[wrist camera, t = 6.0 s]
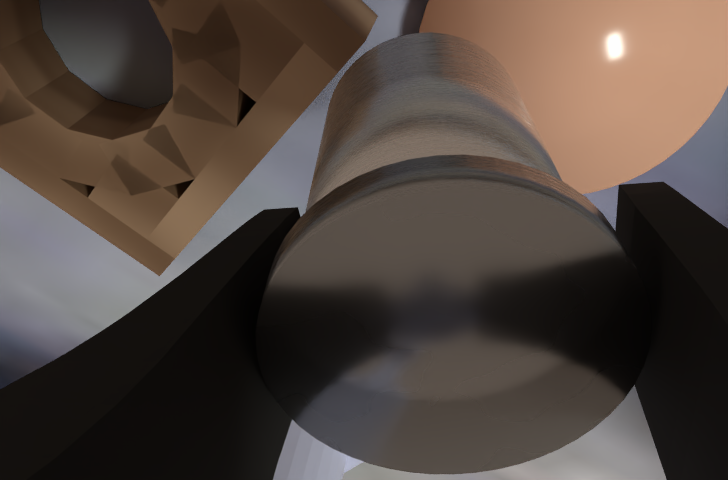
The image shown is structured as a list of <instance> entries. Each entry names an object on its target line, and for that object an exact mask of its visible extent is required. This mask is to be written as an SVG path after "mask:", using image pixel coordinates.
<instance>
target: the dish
mask: <svg viewBox="0 0 728 480" xmlns="http://www.w3.org/2000/svg"><path fill="white" fill-rule="evenodd" d="M428 32H433V33H443V34H449V35H453V36H457V37H461V38H463V39H466V40H468V41H471V42H473V43H475V44H476V45H478V46H480V47H482V48H483V49H485V50H486V51H487V52H489V53H490V54H491V55H493V56H494V57H495V58H496V59H497V60H498V61H499V62H500V63H501V64H502V65H503V67H504V68H505V69H506V71H507V72H508V74H509V75H510V76H511V78H512V80H513V82H514V84H515V86H516V88H517V90H518V92H519V94H520V96H521V98H522V100H523V102H524V104H525V106H526V108H527V110H528V113H529V115H530V117H531V119H532V121H533V123H534V125H535V127H536V129H537V131H538V133H539V135H540V137H541V139H542V141H543V143H544V145H545V147H546V149H547V151H548V153H549V155H550V157H551V159H552V161H553V163H554V165H555V167H556V169H557V171H558V173H559V175H560V177H561V179H562V181H563V182H565V183H567V184H568V185H570V186H571V187H572V188H574V189H575V190H577V191H578V192H579V193H581V194H585V193H591V192H595V191H599V190H603V189H607V188H610V187H613V186H616V185H618V184H621V183H624V182H626V181H629V180H631V179H633V178H635V177H637V176H639V175H641V174H643V173H645V172H647V171H648V170H650V169H652V168H653V167H655V166H656V165H658V164H660V163H661V162H663V161H664V160H666V159H667V158H668V157H669V156H671V155H672V154H673V153H675V152H676V151H677V150H678V149H680V148H681V147H682V146H683V145H684V144H685V143H686V142H687V141H688V140H689V139H690V138H691V137H692V136H693V135H694V134H695V133H696V132H697V131H698V130H699V128H700V127H701V126H702V125H703V124H704V122H705V121H706V120H707V119H708V118H709V116H710V115H711V113H712V112H713V110H714V109H715V107H716V106H717V104H718V103H719V101H720V99H721V97H722V95H723V93H724V91H725V89H726V87H727V86H728V0H428V3H427V6H426V9H425V12H424V15H423V19H422V22H421V26H420V30H419V33H428Z"/></svg>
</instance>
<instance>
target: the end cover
mask: <svg viewBox="0 0 728 480" xmlns="http://www.w3.org/2000/svg"><path fill="white" fill-rule="evenodd" d="M651 335H652V313H651V306H650V302H649V298H648V294H647V290H646V288H645V286H644V283H643V281H642V279H641V277H640V275H639V273H638V271H637V269H636V267H635V265H634V264H633V262H632V260H631V258H630V256H629V255H628V253H627V251H626V249H625V248H624V246H623V244H622V242H621V241H620V239H619V237H618V235H617V233H616V232H615V230H614V229H613V227H612V226H611V225H610V223H609V222H608V220H607V219H606V218H605V216H604V215H603V214H602V213H601V212H600V211H599V210H598V209H597V208H596V207H595V206H594V205H593V204H592V203H591V202H590V201H589V200H588V199H587V198H586V197H585V196H583V195H582V194H581V193H579V192H578V191H577V190H575V189H574V188H572V187H571V186H570V185H568V184H567V183H565V182H563V181H562V179H561V177H560V175H559V173H558V171H557V169H556V167H555V165H554V163H553V161H552V159H551V157H550V155H549V153H548V151H547V149H546V147H545V145H544V143H543V141H542V139H541V137H540V135H539V133H538V131H537V129H536V127H535V125H534V123H533V121H532V119H531V117H530V115H529V113H528V110H527V108H526V106H525V104H524V102H523V100H522V98H521V96H520V94H519V92H518V90H517V88H516V86H515V84H514V82H513V80H512V78H511V76H510V75H509V74H508V72H507V71H506V69H505V68H504V67H503V65H502V64H501V63H500V62H499V61H498V60H497V59H496V58H495V57H494V56H493V55H491V54H490V53H489V52H487V51H486V50H485V49H483V48H482V47H480V46H478V45H476V44H475V43H473V42H471V41H468V40H466V39H463V38H461V37H457V36H453V35H449V34H443V33H433V32H428V33H414V34H408V35H403V36H400V37H396V38H393V39H390V40H388V41H386V42H383V43H381V44H379V45H377V46H376V47H374V48H372V49H371V50H369V51H368V52H366V53H365V54H364V55H362V56H361V57H360V58H359V59H358V60H356V61H355V62H354V63H353V64H352V66H351V67H350V68H349V69H348V70H347V71H346V72H345V74H344V75H343V77H342V78H341V80H340V81H339V83H338V85H337V87H336V89H335V91H334V93H333V95H332V98H331V101H330V104H329V108H328V113H327V117H326V122H325V126H324V131H323V135H322V140H321V144H320V149H319V153H318V158H317V163H316V167H315V172H314V176H313V181H312V185H311V190H310V194H309V199H308V204H307V208H306V213H305V214H304V215H303V216H301V217H300V218H299V219H298V221H297V222H296V223H295V225H294V226H293V227H292V229H291V230H290V231H289V233H288V234H287V235H286V236H285V238H284V240H283V242H282V244H281V246H280V247H279V249H278V251H277V253H276V255H275V258H274V261H273V264H272V267H271V269H270V272H269V276H268V280H267V283H266V287H265V291H264V294H263V298H262V302H261V305H260V309H259V313H258V319H257V325H256V353H257V357H258V362H259V367H260V370H261V373H262V375H263V378H264V380H265V383H266V385H267V387H268V388H269V390H270V392H271V394H272V395H273V397H274V399H275V400H276V402H277V403H278V404H279V405H280V407H281V408H282V409H283V410H284V412H285V413H286V414H287V415H288V416H289V417H290V418H291V419H292V420H293V421H294V422H295V423H296V424H297V425H298V426H299V427H301V428H302V429H303V430H305V431H306V432H307V433H309V434H310V435H311V436H313V437H314V438H315V439H317V440H319V441H320V442H322V443H324V444H325V445H327V446H329V447H331V448H332V449H334V450H337V451H339V452H341V453H343V454H345V455H347V456H350V457H352V458H355V459H358V460H361V461H364V462H366V463H369V464H373V465H377V466H381V467H385V468H389V469H394V470H400V471H406V472H413V473H425V474H463V473H476V472H483V471H489V470H496V469H500V468H505V467H509V466H513V465H517V464H520V463H524V462H527V461H530V460H533V459H536V458H539V457H541V456H544V455H546V454H548V453H551V452H553V451H555V450H558V449H560V448H562V447H563V446H565V445H567V444H569V443H571V442H573V441H575V440H576V439H578V438H579V437H581V436H582V435H584V434H585V433H587V432H588V431H590V430H591V429H593V428H594V427H595V426H597V425H598V424H599V423H600V422H601V421H603V420H604V419H605V418H606V417H607V416H609V415H610V414H611V413H612V412H613V411H614V409H615V408H616V407H617V406H618V405H619V404H620V403H621V402H622V401H623V400H624V398H625V397H626V396H627V394H628V393H629V391H630V390H631V389H632V387H633V386H634V384H635V383H636V381H637V379H638V377H639V375H640V373H641V371H642V369H643V367H644V365H645V361H646V358H647V355H648V352H649V349H650V343H651Z"/></svg>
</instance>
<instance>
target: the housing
mask: <svg viewBox="0 0 728 480" xmlns="http://www.w3.org/2000/svg"><path fill="white" fill-rule="evenodd" d="M149 2H150V4H151V6H152V8H153V10H154V12H155V14H156V16H157V18H158V20H159V22H160V24H161V26H162V28H163V30H164V32H165V33H166V35H167V37H168V39H169V41H170V43H171V45H172V47H173V97H172V98H171V100H170V101H169V102H168V103H165V104H162V105H159V106H155V107H152V108H149V109H144V108H140V107H136V106H132V105H128V104H123V103H119V102H115V101H111V100H107V99H105V98H104V97H103V96H101V95H100V94H99V93H97V92H96V91H95V90H93V89H92V88H91V87H89V86H88V85H87V84H85V83H84V82H83V81H81V80H80V79H79V78H77V77H76V76H75V75H74V74H72V73H71V72H70V71H68V69H67V67H66V66H65V64H64V62H63V61H62V59H61V58H60V56H59V54H58V53H57V51H56V50H55V48H54V46H53V45H52V43H51V41H50V40H49V38H48V37H47V35H46V33H45V32H44V30H43V27H42V20H41V13H40V6H39V0H0V167H1V168H2V169H4V170H5V171H6V172H8V173H9V174H11V175H12V176H14V177H15V178H17V179H18V180H20V181H21V182H23V183H24V184H25V185H27V186H28V187H30V188H31V189H33V190H34V191H36V192H37V193H39V194H40V195H42V196H43V197H45V198H46V199H47V200H49V201H50V202H52V203H53V204H55V205H56V206H58V207H59V208H61V209H62V210H64V211H65V212H66V213H68V214H69V215H71V216H72V217H74V218H75V219H77V220H78V221H80V222H81V223H83V224H84V225H85V226H87V227H88V228H90V229H91V230H93V231H94V232H96V233H97V234H99V235H100V236H102V237H103V238H105V239H106V240H107V241H109V242H110V243H112V244H113V245H115V246H116V247H118V248H119V249H121V250H122V251H124V252H125V253H126V254H128V255H129V256H131V257H132V258H134V259H135V260H137V261H138V262H140V263H141V264H143V265H144V266H146V267H147V268H148V269H150V270H151V271H153V272H154V273H156V274H157V275H159V276H160V275H161V274H162V273H163V272H164V271H165V269H166V268H167V267H168V266H169V265H170V264H171V263H172V261H173V260H174V259H175V258H176V257H177V256H178V255H179V253H180V252H181V251H182V250H183V249H184V248H185V247H186V245H187V244H188V243H189V242H190V241H191V240H192V239H193V237H194V236H195V235H196V234H197V233H198V232H199V231H200V229H201V228H202V227H203V226H204V225H205V224H206V223H207V221H208V220H209V219H210V218H211V217H212V216H213V215H214V213H215V212H216V211H217V210H218V209H219V208H220V207H221V205H222V204H223V203H224V202H225V201H226V200H227V199H228V197H229V196H230V195H231V194H232V193H233V192H234V191H235V189H236V188H237V187H238V186H239V185H240V184H241V183H242V181H243V180H244V179H245V178H246V177H247V176H248V175H249V173H250V172H251V171H252V170H253V169H254V168H255V167H256V165H257V164H258V163H259V162H260V161H261V160H262V159H263V157H264V156H265V155H266V154H267V153H268V152H269V151H270V149H271V148H272V147H273V146H274V145H275V144H276V143H277V141H278V140H279V139H280V138H281V137H282V136H283V135H284V133H285V132H286V131H287V130H288V129H289V128H290V127H291V125H292V124H293V123H294V122H295V121H296V120H297V119H298V117H299V116H300V115H301V114H302V113H303V112H304V111H305V109H306V108H307V107H308V106H309V105H310V104H311V103H312V101H313V100H314V99H315V98H316V97H317V96H318V95H319V93H320V92H321V91H322V90H323V89H324V88H325V87H326V85H327V84H328V83H329V82H330V81H331V80H332V79H333V77H334V76H335V75H336V74H337V73H338V72H339V71H340V69H341V68H342V67H343V66H344V65H345V64H346V63H347V61H348V60H349V59H350V58H351V57H352V56H353V55H354V53H355V52H356V51H357V50H358V49H359V48H360V47H361V45H362V44H363V43H364V42H365V41H366V39H367V37H368V35H369V33H370V31H371V29H372V27H373V25H374V23H375V21H376V19H377V17H378V16H377V15H376V14H375V13H374V12H373V11H372V10H371V9H370V8H369V7H368V6H367V5H366V4H365V3H364V2H363V1H362V0H149Z"/></svg>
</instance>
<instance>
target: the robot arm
mask: <svg viewBox="0 0 728 480" xmlns="http://www.w3.org/2000/svg"><path fill="white" fill-rule="evenodd" d="M299 218H300V214H299V210H298V207H296V208H282V209H267V210H263V211H262V212H260V213H259V214H257V215H255V216H254V217H253V218H251V219H250V220H249V221H247V222H246V223H245V224H243V225H242V226H241V227H239V228H238V229H237V230H236V231H234V232H233V233H232V234H231V235H229V236H228V237H227V238H226V239H224V240H223V241H222V242H221V243H219V244H218V245H217V246H216V247H215V248H213V249H212V250H211V251H210V252H208V253H207V254H206V255H204V256H203V257H202V258H201V259H199V260H198V261H197V262H196V263H194V264H193V265H192V266H191V267H189V268H188V269H187V270H186V271H184V272H183V273H182V274H181V275H179V276H178V277H177V278H175V279H174V280H173V281H171V282H170V283H169V284H167V285H166V286H165V287H163V288H162V289H161V290H159V291H158V292H156V293H155V294H154V295H152V296H151V297H150V298H148V299H147V300H146V301H144V302H143V303H142V304H140V305H139V306H138V307H136V308H135V309H133V310H132V311H131V312H129V313H128V314H126V315H125V316H124V317H122V318H121V319H119V320H118V321H116V322H115V323H113V324H112V325H110V326H109V327H107V328H106V329H104V330H103V331H101V332H100V333H98V334H96V335H95V336H93V337H92V338H90V339H88V340H87V341H85V342H83V343H82V344H80V345H79V346H77V347H75V348H74V349H72V350H71V351H69V352H67V353H66V354H64V355H62V356H61V357H59V358H57V359H55V360H54V361H52V362H50V363H48V364H46V365H45V366H43V367H41V368H39V369H37V370H35V371H33V372H32V373H30V374H28V375H26V376H24V377H22V378H20V379H19V380H17V381H15V382H13V383H11V384H9V385H7V386H6V387H4V388H2V389H0V480H342V478H343V473H345V472H346V471H348V470H350V469H352V468H353V467H355V466H357V465H359V464H361V463H362V462H364V461H361V460H358V459H355V458H352V457H350V456H347V455H345V454H343V453H341V452H339V451H337V450H334V449H332V448H331V447H329V446H327V445H325V444H324V443H322V442H320V441H319V440H317V439H315V438H314V437H313V436H311V435H310V434H309V433H307V432H306V431H305V430H303V429H302V428H301V427H299V426H298V425H297V424H296V423H295V422H294V421H293V420H292V419H291V418H290V417H289V416H288V415H287V414H286V413H285V412H284V410H283V409H282V408H281V407H280V405H279V404H278V403H277V402H276V400H275V399H274V397H273V395H272V394H271V392H270V390H269V388H268V387H267V385H266V383H265V380H264V378H263V375H262V373H261V370H260V367H259V362H258V357H257V353H256V325H257V319H258V313H259V309H260V305H261V302H262V298H263V294H264V291H265V287H266V283H267V280H268V276H269V272H270V269H271V267H272V264H273V261H274V258H275V255H276V253H277V251H278V249H279V247H280V246H281V244H282V242H283V240H284V238H285V236H286V235H287V234H288V233H289V231H290V230H291V229H292V227H293V226H294V225H295V223H296V222H297V221H298V219H299ZM616 233H617V235H618V237H619V239H620V241H621V242H622V244H623V246H624V248H625V249H626V251H627V253H628V255H629V256H630V258H631V260H632V262H633V264H634V265H635V267H636V269H637V271H638V273H639V275H640V277H641V279H642V281H643V283H644V286H645V288H646V290H647V294H648V298H649V302H650V306H651V313H652V335H651V343H650V349H649V352H648V355H647V358H646V361H645V365H644V367H643V369H642V371H641V373H640V375H639V377H638V379H637V381H636V383H635V387H636V390H637V393H638V396H639V399H640V402H641V405H642V408H643V411H644V414H645V417H646V420H647V422H648V425H649V428H650V431H651V434H652V437H653V440H654V443H655V446H656V449H657V452H658V455H659V458H660V461H661V464H662V467H663V470H664V473H665V476H666V479H667V480H728V229H727V228H726V227H725V226H723V225H722V224H721V223H719V222H718V221H716V220H715V219H714V218H712V217H711V216H710V215H708V214H707V213H706V212H704V211H703V210H702V209H700V208H699V207H697V206H696V205H695V204H693V203H692V202H691V201H689V200H688V199H687V198H685V197H684V196H683V195H681V194H680V193H679V192H677V191H676V190H674V189H673V188H672V187H670V186H669V185H667V184H666V183H664V182H653V183H638V184H624V185H619V190H618V204H617V218H616Z"/></svg>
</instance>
